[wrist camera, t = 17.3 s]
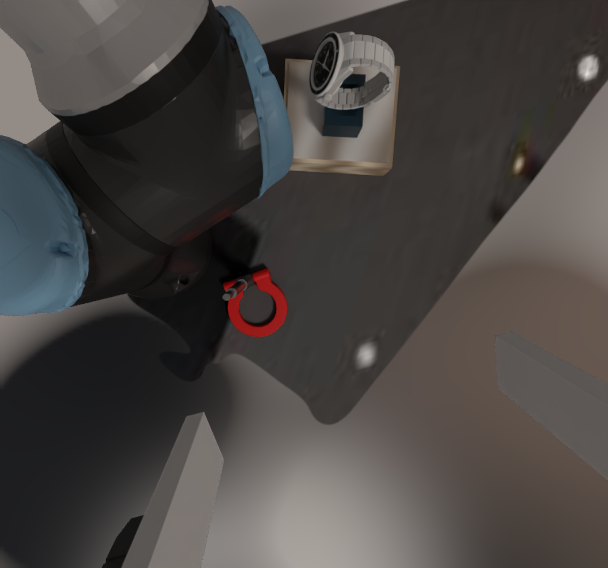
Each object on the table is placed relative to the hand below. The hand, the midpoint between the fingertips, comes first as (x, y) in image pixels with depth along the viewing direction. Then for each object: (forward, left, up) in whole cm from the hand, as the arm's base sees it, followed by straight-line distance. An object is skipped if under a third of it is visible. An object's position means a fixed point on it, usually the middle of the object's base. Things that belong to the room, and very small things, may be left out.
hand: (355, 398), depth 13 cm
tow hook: (-9, -1, -29) cm, 31 cm away
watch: (+1, +24, -25) cm, 34 cm away
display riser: (+1, +24, -29) cm, 37 cm away
